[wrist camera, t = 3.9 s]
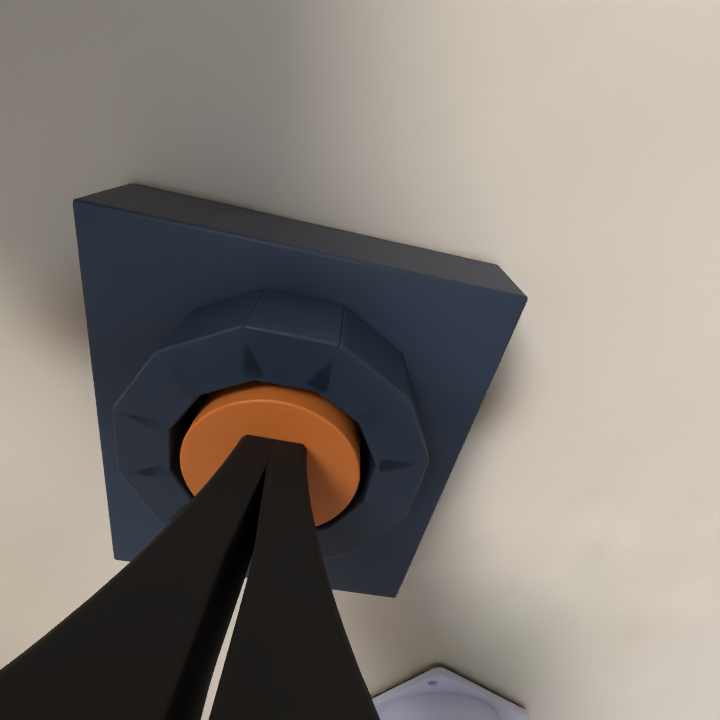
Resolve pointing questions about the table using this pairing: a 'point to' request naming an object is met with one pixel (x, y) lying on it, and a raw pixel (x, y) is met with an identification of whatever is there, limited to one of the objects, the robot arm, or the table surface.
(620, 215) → the table surface
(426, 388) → the dark blue button base
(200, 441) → the orange button
